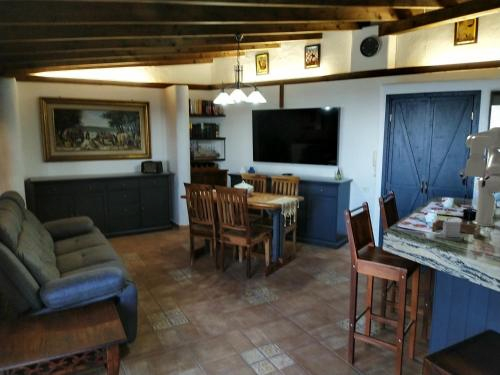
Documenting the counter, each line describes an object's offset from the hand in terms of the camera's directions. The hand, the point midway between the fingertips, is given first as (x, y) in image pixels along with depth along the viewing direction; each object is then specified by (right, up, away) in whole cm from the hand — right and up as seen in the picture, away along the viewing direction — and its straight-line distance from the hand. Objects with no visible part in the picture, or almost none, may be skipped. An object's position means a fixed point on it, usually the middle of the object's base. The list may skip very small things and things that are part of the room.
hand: (473, 186), depth 225 cm
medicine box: (-17, -29, -6) cm, 34 cm away
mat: (-17, -29, -6) cm, 35 cm away
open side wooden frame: (-10, -28, +3) cm, 30 cm away
